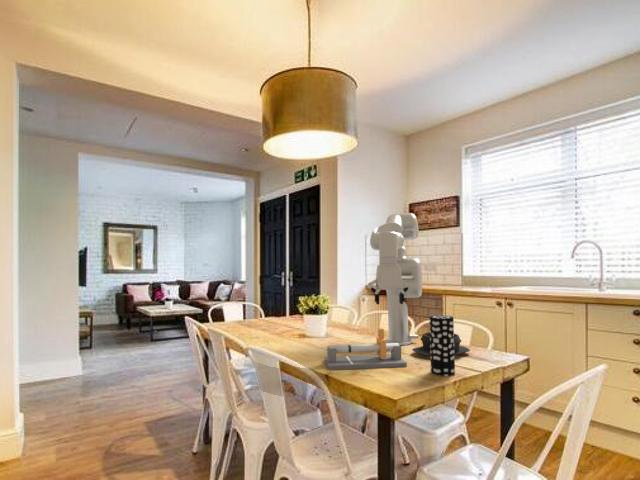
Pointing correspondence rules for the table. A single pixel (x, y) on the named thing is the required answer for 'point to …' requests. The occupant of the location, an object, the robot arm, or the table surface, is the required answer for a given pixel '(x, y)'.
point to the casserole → (426, 345)
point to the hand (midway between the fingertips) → (389, 303)
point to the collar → (381, 343)
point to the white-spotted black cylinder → (442, 345)
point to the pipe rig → (363, 357)
